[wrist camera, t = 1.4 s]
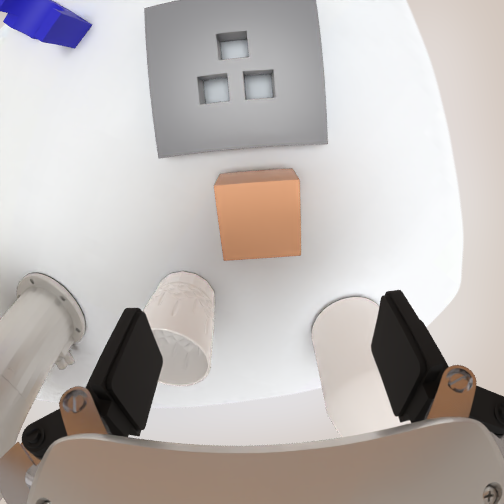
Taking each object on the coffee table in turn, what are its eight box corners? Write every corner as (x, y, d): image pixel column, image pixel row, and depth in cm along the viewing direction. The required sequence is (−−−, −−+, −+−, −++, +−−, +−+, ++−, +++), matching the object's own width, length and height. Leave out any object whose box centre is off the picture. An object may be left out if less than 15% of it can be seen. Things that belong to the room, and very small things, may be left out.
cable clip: (18, 24, 17) (-14, 19, 11) (39, -7, 15) (9, -16, 10) (67, 60, 20) (32, 56, 15) (93, 25, 19) (61, 13, 14)
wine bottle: (347, 280, 32) (442, 559, 5) (394, 313, 34) (484, 527, 8) (294, 333, 36) (323, 584, 9) (345, 357, 38) (392, 562, 11)
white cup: (232, 309, 34) (226, 376, 25) (178, 329, 35) (160, 391, 27) (197, 255, 31) (176, 316, 22) (140, 281, 32) (109, 341, 23)
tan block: (291, 222, 29) (300, 255, 23) (230, 226, 29) (223, 260, 23) (288, 162, 26) (299, 179, 20) (223, 167, 26) (213, 185, 20)
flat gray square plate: (319, 140, 25) (327, 144, 22) (168, 153, 26) (158, 158, 23) (308, 1, 19) (314, -10, 16) (155, 17, 19) (144, 8, 16)
